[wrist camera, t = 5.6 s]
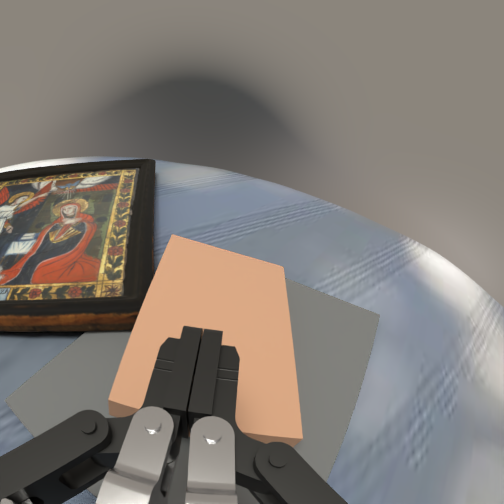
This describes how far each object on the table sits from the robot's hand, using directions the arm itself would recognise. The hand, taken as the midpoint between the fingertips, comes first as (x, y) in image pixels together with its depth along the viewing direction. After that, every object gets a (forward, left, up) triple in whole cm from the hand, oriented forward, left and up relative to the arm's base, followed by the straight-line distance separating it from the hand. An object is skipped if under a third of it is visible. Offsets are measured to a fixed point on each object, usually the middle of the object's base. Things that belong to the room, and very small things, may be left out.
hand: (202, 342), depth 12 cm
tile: (+1, -1, -6) cm, 6 cm away
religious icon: (-30, +7, -9) cm, 32 cm away
